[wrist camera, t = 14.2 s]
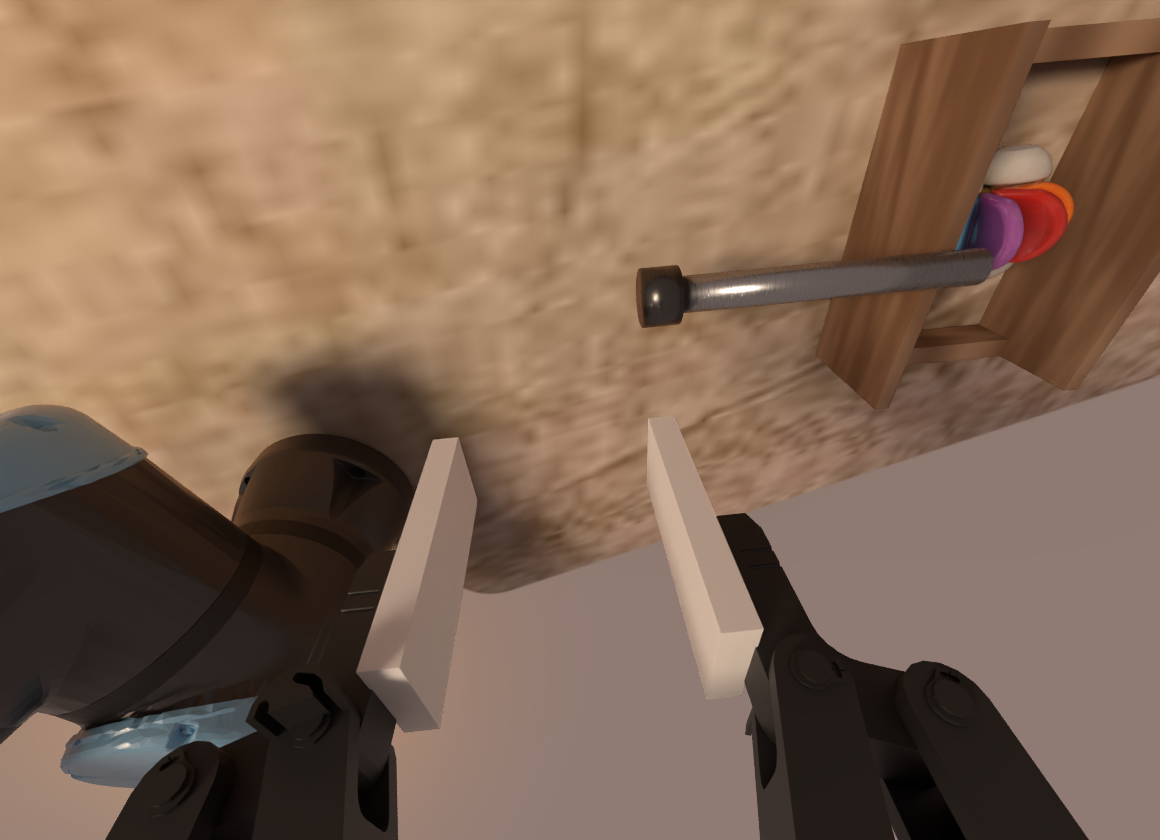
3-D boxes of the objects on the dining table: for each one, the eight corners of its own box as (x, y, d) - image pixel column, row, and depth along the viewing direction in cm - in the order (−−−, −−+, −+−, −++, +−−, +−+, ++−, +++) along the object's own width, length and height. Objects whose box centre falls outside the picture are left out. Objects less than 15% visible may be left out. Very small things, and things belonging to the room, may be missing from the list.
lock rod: (635, 314, 26) (645, 337, 24) (636, 261, 25) (647, 279, 22) (943, 285, 27) (986, 304, 24) (966, 229, 25) (1015, 244, 22)
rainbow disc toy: (992, 258, 35) (1084, 289, 29) (868, 288, 35) (932, 324, 30) (1033, 134, 30) (1154, 141, 24) (887, 172, 30) (970, 187, 25)
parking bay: (815, 355, 39) (875, 409, 32) (901, 44, 26) (1028, 22, 19) (981, 339, 39) (1076, 389, 32) (1144, 22, 26) (1356, -7, 20)
